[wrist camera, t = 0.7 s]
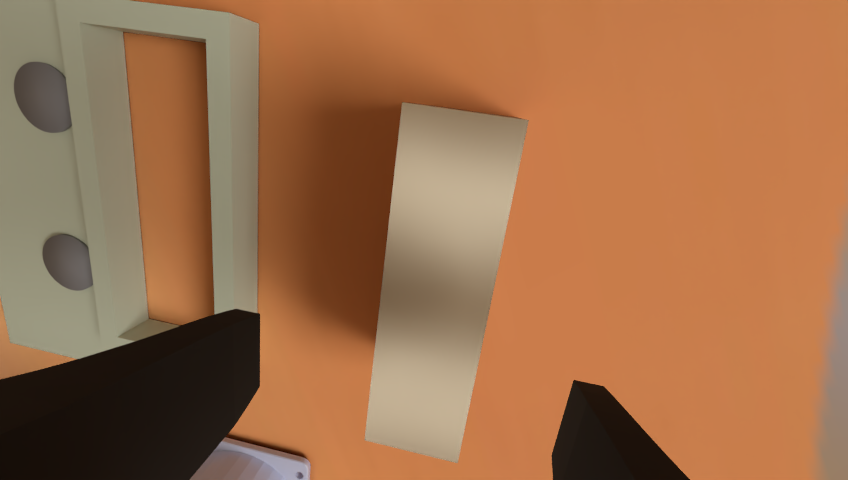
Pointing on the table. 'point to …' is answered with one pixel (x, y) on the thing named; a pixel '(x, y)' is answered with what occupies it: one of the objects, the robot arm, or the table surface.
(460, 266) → the birch door
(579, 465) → the robot arm
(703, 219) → the table surface
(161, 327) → the sage cabinet frame
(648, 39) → the table surface
